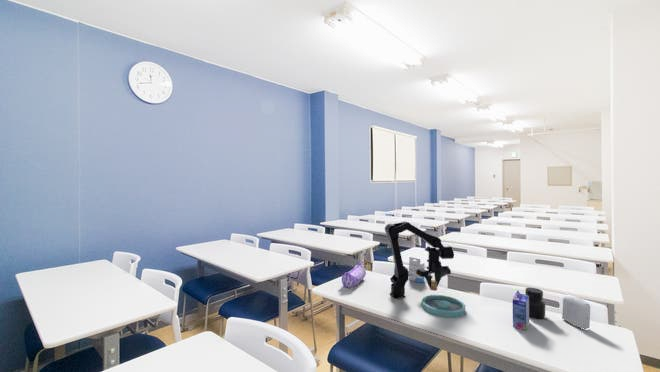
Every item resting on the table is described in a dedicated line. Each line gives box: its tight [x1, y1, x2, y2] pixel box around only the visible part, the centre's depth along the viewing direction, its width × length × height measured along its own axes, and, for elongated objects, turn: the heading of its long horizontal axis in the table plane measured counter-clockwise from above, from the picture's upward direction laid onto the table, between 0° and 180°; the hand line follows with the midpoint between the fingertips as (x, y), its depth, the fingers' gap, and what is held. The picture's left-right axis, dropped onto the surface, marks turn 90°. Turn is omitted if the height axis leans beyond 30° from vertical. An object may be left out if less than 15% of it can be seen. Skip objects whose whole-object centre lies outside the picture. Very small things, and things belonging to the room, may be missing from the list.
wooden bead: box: [429, 279, 438, 291], centre depth 165 cm, size 4×4×4 cm
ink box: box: [408, 256, 425, 284], centre depth 187 cm, size 8×5×15 cm, turn 39°
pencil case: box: [341, 263, 367, 289], centre depth 183 cm, size 22×9×10 cm, turn 156°
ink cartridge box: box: [512, 289, 530, 331], centre depth 132 cm, size 10×6×14 cm, turn 141°
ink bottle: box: [524, 287, 546, 320], centre depth 141 cm, size 10×9×12 cm
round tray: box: [421, 294, 466, 318], centre depth 148 cm, size 20×20×2 cm
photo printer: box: [561, 294, 591, 330], centre depth 132 cm, size 10×4×12 cm, turn 11°
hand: (433, 286), depth 165 cm, fingers closed on wooden bead, 4 cm apart
